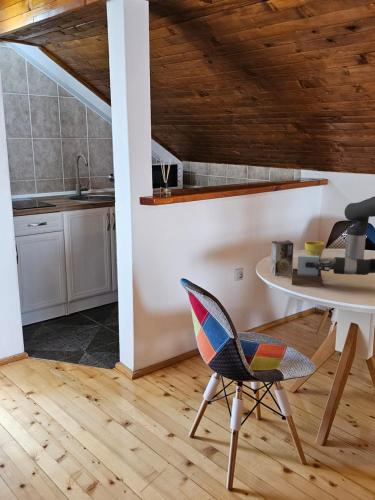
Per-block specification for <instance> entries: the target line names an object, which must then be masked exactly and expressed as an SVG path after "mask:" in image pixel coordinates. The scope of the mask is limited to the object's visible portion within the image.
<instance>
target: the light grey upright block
mask: <svg viewBox="0 0 375 500" xmlns="http://www.w3.org/2000/svg"><path fill="white" fill-rule="evenodd" d="M306 262H309V263H319V256H311V255H307V254H298V256H297V269H298V270H297V275H306V276H318V270H316V269H314V268H307V267H305V266H306Z"/></svg>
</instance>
